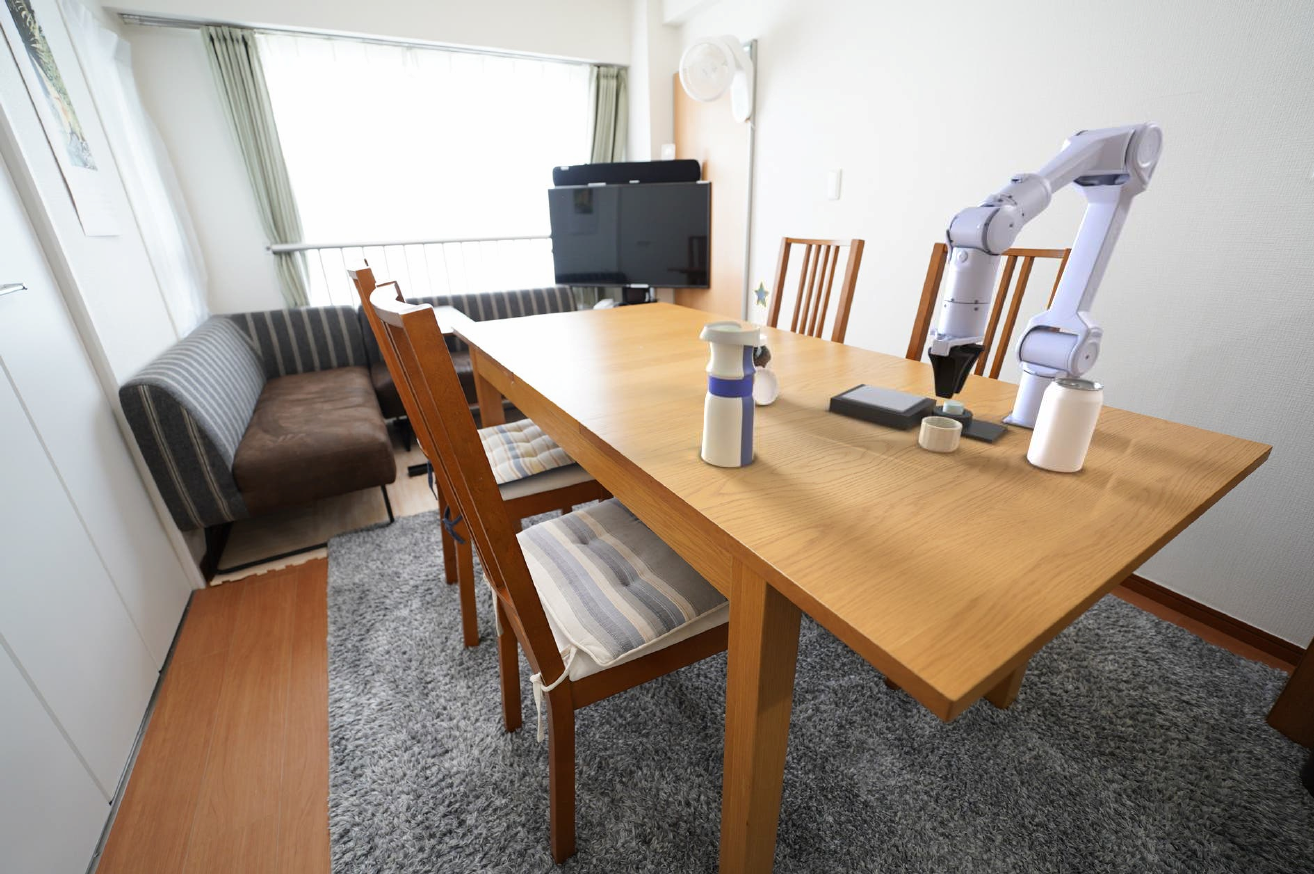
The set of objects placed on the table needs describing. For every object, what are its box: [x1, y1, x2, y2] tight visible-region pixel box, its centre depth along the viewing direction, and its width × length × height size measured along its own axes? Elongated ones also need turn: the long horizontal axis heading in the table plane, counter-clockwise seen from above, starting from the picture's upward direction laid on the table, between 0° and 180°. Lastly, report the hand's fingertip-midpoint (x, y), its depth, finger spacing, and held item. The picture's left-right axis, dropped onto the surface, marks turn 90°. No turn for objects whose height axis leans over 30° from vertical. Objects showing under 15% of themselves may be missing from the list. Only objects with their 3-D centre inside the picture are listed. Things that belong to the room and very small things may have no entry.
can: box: [1026, 378, 1104, 474], centre depth 75 cm, size 6×6×12 cm
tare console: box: [930, 404, 1008, 444], centre depth 90 cm, size 10×8×2 cm
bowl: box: [917, 416, 962, 454], centre depth 82 cm, size 5×5×4 cm
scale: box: [828, 383, 938, 432], centre depth 97 cm, size 14×12×3 cm
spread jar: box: [753, 333, 780, 406], centre depth 104 cm, size 12×11×12 cm
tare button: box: [942, 399, 965, 415], centre depth 90 cm, size 3×3×2 cm
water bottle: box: [699, 281, 770, 468], centre depth 76 cm, size 8×9×25 cm
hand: (947, 394), depth 80 cm, fingers open, 3 cm apart
